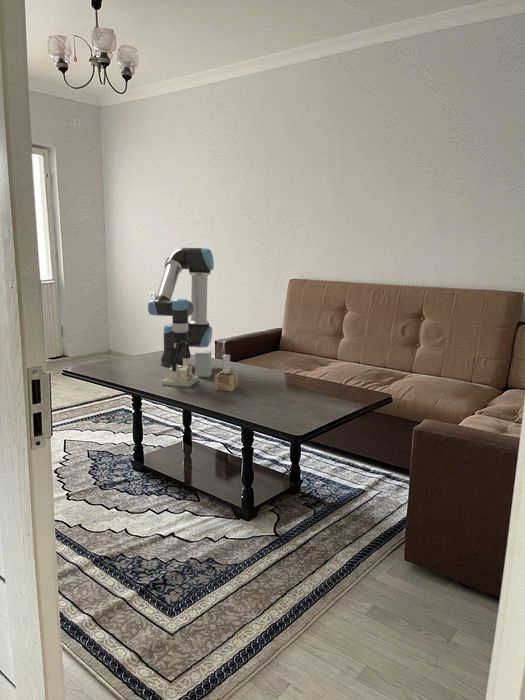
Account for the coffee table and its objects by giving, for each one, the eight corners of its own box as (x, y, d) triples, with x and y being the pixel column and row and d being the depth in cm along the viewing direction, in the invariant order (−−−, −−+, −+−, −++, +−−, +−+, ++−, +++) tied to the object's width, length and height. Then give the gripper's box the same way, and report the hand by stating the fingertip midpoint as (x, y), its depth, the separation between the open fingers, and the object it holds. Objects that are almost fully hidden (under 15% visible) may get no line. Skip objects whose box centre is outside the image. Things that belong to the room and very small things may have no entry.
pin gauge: (223, 386, 260) (223, 354, 257) (230, 387, 260) (230, 354, 256) (221, 388, 257) (221, 355, 254) (228, 389, 256) (228, 356, 253)
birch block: (175, 378, 271) (175, 365, 270) (191, 380, 269) (191, 366, 268) (168, 382, 263) (168, 368, 262) (185, 384, 261) (185, 370, 260)
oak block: (220, 385, 263) (220, 371, 262) (237, 386, 261) (237, 372, 260) (214, 389, 255) (215, 375, 254) (232, 391, 253) (232, 376, 252)
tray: (173, 378, 274) (173, 374, 274) (198, 380, 271) (198, 376, 270) (161, 384, 261) (161, 380, 261) (188, 387, 258) (188, 383, 258)
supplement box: (211, 374, 285) (211, 350, 283) (209, 377, 278) (209, 353, 275) (198, 373, 286) (198, 349, 283) (194, 376, 279) (194, 352, 276)
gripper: (183, 327, 274) (183, 368, 278) (162, 334, 250) (162, 379, 254) (197, 328, 272) (197, 369, 276) (177, 336, 248) (177, 380, 252)
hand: (180, 374), depth 265 cm, fingers open, 13 cm apart
